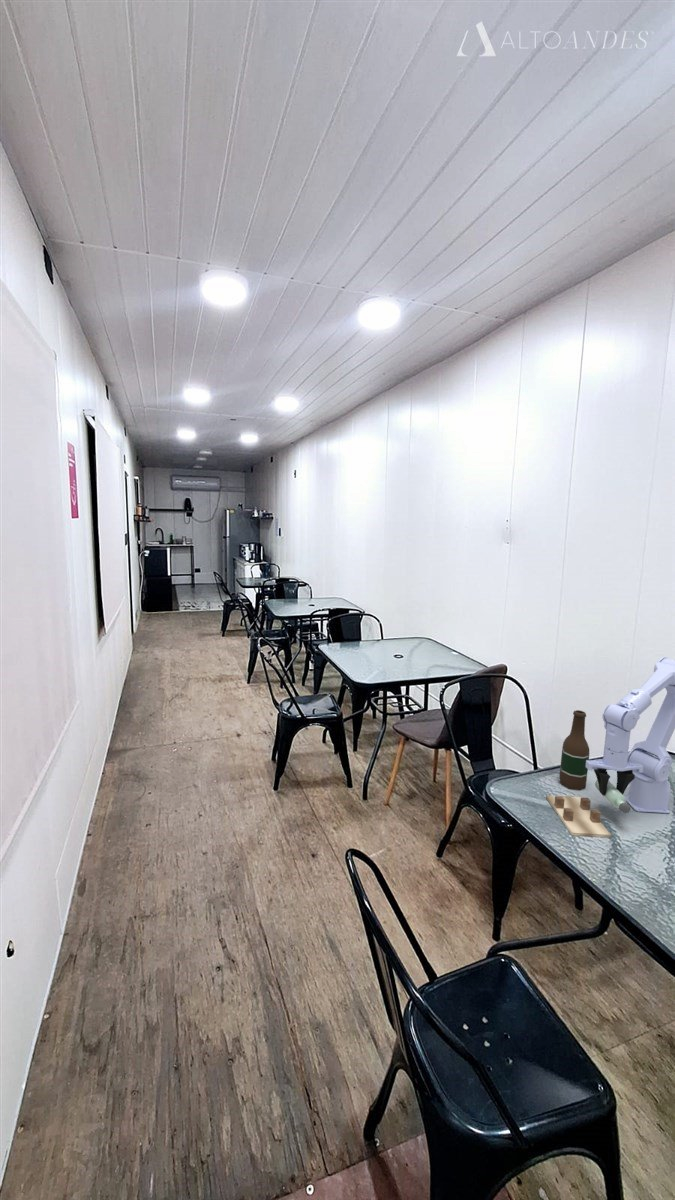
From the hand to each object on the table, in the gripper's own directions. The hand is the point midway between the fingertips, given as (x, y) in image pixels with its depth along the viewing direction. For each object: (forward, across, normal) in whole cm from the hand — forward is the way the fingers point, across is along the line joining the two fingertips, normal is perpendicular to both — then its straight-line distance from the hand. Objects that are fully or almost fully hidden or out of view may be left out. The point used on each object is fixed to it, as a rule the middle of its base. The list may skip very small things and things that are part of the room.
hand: (610, 794), depth 134 cm
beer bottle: (+7, +3, -16) cm, 18 cm away
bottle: (+2, 0, +1) cm, 2 cm away
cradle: (+6, +10, +2) cm, 12 cm away
